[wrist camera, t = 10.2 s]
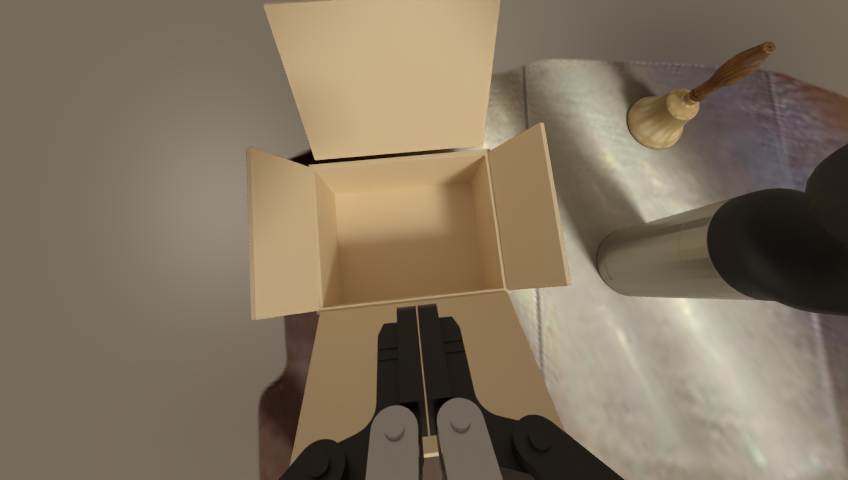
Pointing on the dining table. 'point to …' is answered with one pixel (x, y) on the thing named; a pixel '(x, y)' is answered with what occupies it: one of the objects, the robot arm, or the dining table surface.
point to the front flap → (387, 72)
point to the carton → (407, 267)
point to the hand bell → (688, 101)
